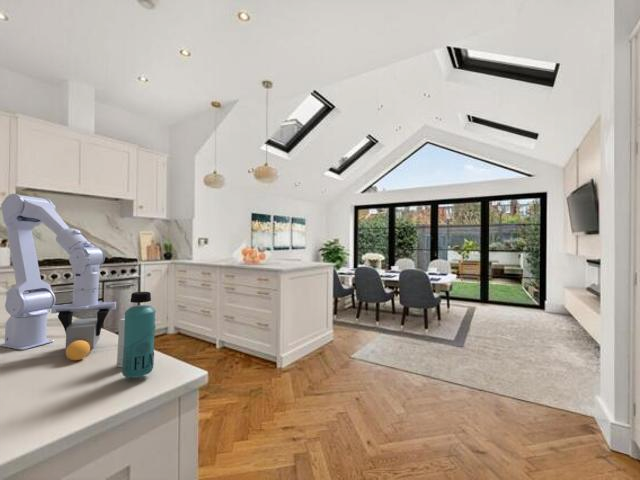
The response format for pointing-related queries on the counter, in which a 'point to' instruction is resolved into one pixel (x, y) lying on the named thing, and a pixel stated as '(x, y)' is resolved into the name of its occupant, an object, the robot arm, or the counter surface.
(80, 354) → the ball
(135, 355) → the beverage bottle
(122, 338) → the skincare box
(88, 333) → the tall gray prism
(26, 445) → the counter surface
